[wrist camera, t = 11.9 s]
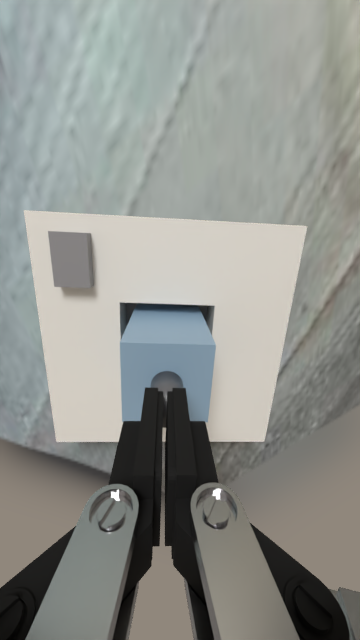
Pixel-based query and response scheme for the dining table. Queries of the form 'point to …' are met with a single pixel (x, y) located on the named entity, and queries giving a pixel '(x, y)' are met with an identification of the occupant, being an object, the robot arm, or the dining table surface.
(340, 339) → the dining table surface
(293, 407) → the dining table surface
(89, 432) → the socket
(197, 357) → the plug
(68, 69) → the dining table surface
